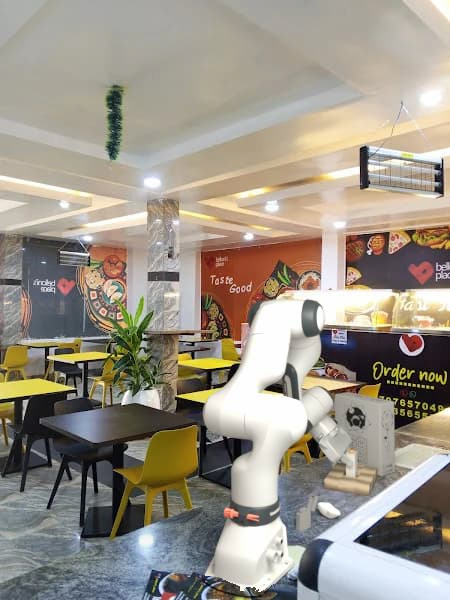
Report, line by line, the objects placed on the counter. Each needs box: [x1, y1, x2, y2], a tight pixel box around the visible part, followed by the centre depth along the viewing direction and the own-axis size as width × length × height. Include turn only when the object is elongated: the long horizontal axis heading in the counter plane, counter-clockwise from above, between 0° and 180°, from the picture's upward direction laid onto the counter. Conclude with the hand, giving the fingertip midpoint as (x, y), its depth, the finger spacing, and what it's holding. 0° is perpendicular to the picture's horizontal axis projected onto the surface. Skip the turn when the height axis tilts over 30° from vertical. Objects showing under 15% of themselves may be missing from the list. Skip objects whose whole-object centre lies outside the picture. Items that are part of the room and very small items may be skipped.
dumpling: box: [317, 501, 341, 520], centre depth 133 cm, size 7×5×4 cm
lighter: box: [295, 493, 319, 532], centre depth 127 cm, size 7×2×8 cm, turn 126°
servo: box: [346, 449, 358, 477], centre depth 157 cm, size 4×3×9 cm
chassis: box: [323, 461, 379, 497], centre depth 157 cm, size 18×14×3 cm
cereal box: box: [334, 391, 396, 477], centre depth 173 cm, size 22×8×25 cm, turn 32°
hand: (353, 463), depth 157 cm, fingers closed on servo, 4 cm apart
